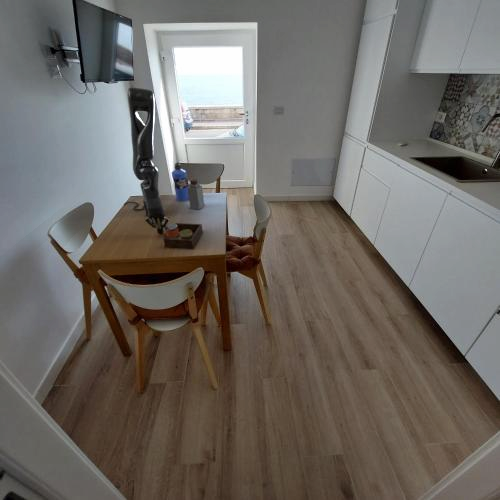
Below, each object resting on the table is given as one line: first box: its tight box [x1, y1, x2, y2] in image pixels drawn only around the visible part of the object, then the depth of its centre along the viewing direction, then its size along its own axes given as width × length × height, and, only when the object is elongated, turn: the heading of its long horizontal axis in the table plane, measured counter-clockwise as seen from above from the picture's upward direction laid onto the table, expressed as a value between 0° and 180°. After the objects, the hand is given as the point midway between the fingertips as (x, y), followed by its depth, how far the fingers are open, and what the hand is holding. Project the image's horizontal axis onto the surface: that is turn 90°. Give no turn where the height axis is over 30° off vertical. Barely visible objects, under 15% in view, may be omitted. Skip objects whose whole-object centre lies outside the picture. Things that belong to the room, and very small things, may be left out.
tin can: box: [164, 223, 180, 239], centre depth 148 cm, size 7×7×6 cm
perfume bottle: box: [187, 178, 205, 210], centre depth 174 cm, size 7×7×18 cm
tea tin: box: [179, 229, 193, 240], centre depth 140 cm, size 6×6×7 cm
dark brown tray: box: [163, 222, 204, 250], centre depth 144 cm, size 15×17×5 cm
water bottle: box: [171, 162, 189, 202], centre depth 184 cm, size 9×9×25 cm
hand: (161, 233), depth 149 cm, fingers closed
